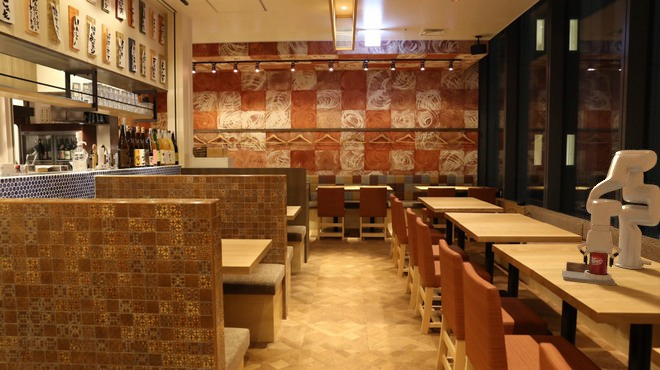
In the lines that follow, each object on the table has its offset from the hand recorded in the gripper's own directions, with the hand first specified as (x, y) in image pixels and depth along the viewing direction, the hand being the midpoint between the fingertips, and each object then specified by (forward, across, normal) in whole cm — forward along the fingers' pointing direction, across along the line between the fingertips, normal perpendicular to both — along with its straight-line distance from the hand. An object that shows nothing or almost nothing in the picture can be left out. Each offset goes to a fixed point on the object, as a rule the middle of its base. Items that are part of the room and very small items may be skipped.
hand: (598, 265), depth 207 cm
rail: (+7, +4, -10) cm, 13 cm away
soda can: (+6, 0, 0) cm, 6 cm away
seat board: (+7, +4, 0) cm, 8 cm away
